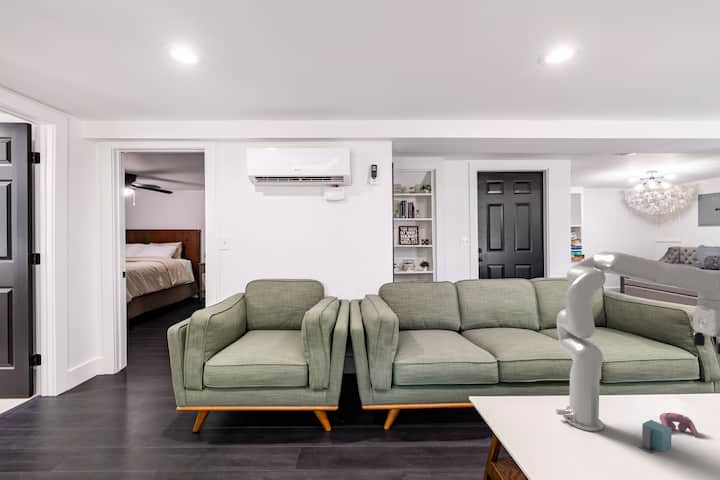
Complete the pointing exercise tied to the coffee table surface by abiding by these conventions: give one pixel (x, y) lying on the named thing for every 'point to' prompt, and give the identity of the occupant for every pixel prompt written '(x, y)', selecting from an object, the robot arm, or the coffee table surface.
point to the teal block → (659, 435)
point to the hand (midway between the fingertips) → (710, 349)
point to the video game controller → (683, 421)
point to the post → (647, 441)
